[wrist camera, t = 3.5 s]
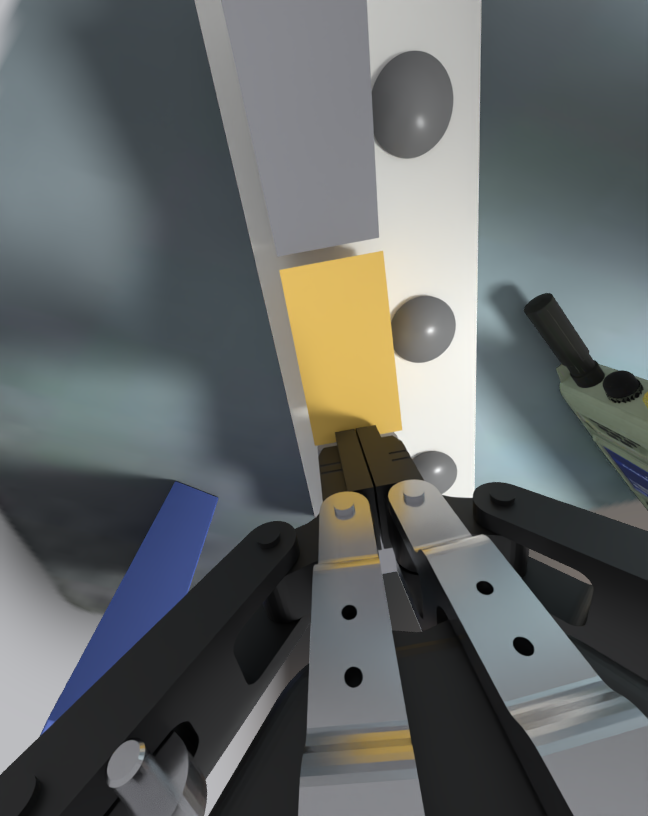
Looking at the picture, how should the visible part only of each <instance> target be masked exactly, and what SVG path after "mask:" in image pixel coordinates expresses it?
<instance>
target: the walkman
mask: <svg viewBox="0 0 648 816" xmlns="http://www.w3.org/2000/svg"><path fill="white" fill-rule="evenodd" d="M217 501H218V497H215V496H213V495H210V494H207V493H205V492H202V491H200V490H197V489H194V488H192V487H189V486H187V485H184V484H182V483H179V482H176V481H175V483H174V484H173V486H172V488H171V490H170V492H169V494H168V496H167V498H166V499H165V501H164V503H163V505H162V507H161V509H160V511H159V512H158V514H157V516H156V518H155V520H154V522H153V524H152V526H151V527H150V529H149V531H148V533H147V535H146V537H145V539H144V540H143V542H142V544H141V546H140V548H139V550H138V552H137V554H136V555H135V557H134V559H133V561H132V563H131V565H130V567H129V568H128V570H127V572H126V574H125V576H124V578H123V580H122V582H121V583H120V585H119V587H118V589H117V591H116V593H115V595H114V596H113V598H112V600H111V602H110V604H109V606H108V608H107V610H106V611H105V613H104V615H103V617H102V619H101V621H100V623H99V625H98V627H97V628H96V630H95V632H94V634H93V636H92V638H91V640H90V641H89V643H88V645H87V647H86V649H85V651H84V653H83V654H82V656H81V658H80V660H79V662H78V664H77V666H76V668H75V669H74V671H73V673H72V675H71V677H70V679H69V681H68V682H67V684H66V686H65V688H64V690H63V692H62V694H61V695H60V697H59V699H58V701H57V703H56V705H55V707H54V709H53V710H52V712H51V714H50V716H49V718H48V720H47V722H46V724H45V726H44V729H43V730H42V733H41V735H42V734H43V733H44V732H45V731H46V730H47V729H48V728H49V727H50V726H51V725H52V724H53V723H54V722H55V721H56V720H57V719H58V718H59V717H60V716H62V715H63V714H64V713H65V712H66V711H67V710H68V709H69V708H70V707H71V706H72V705H73V704H74V703H75V702H76V701H77V700H78V699H79V698H80V697H81V696H82V695H83V694H84V693H85V692H86V691H87V690H88V689H89V688H90V687H91V686H92V685H93V684H95V683H96V682H97V681H98V680H99V679H100V678H101V677H102V676H103V675H104V674H105V673H106V672H107V671H108V670H109V669H110V668H111V667H112V666H113V665H114V664H115V663H116V662H117V661H118V660H119V659H120V658H121V657H122V656H123V655H124V654H125V653H126V652H128V651H129V650H130V649H131V648H132V647H133V646H134V645H135V644H136V643H137V642H138V641H139V640H140V639H141V638H142V637H143V636H144V635H145V634H146V633H147V632H148V631H149V630H150V629H151V628H152V627H153V626H154V625H155V624H156V623H157V622H158V621H159V620H161V619H162V618H163V617H164V616H165V615H166V614H167V613H168V612H169V611H170V610H171V609H172V608H173V607H174V606H175V605H176V604H177V603H178V602H179V601H180V600H181V599H182V598H183V597H184V596H185V595H186V594H187V593H188V590H189V587H190V584H191V581H192V578H193V575H194V572H195V569H196V566H197V563H198V560H199V557H200V554H201V550H202V547H203V544H204V541H205V538H206V535H207V532H208V529H209V526H210V523H211V520H212V517H213V514H214V510H215V507H216V504H217ZM41 735H40V736H41Z"/></svg>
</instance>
